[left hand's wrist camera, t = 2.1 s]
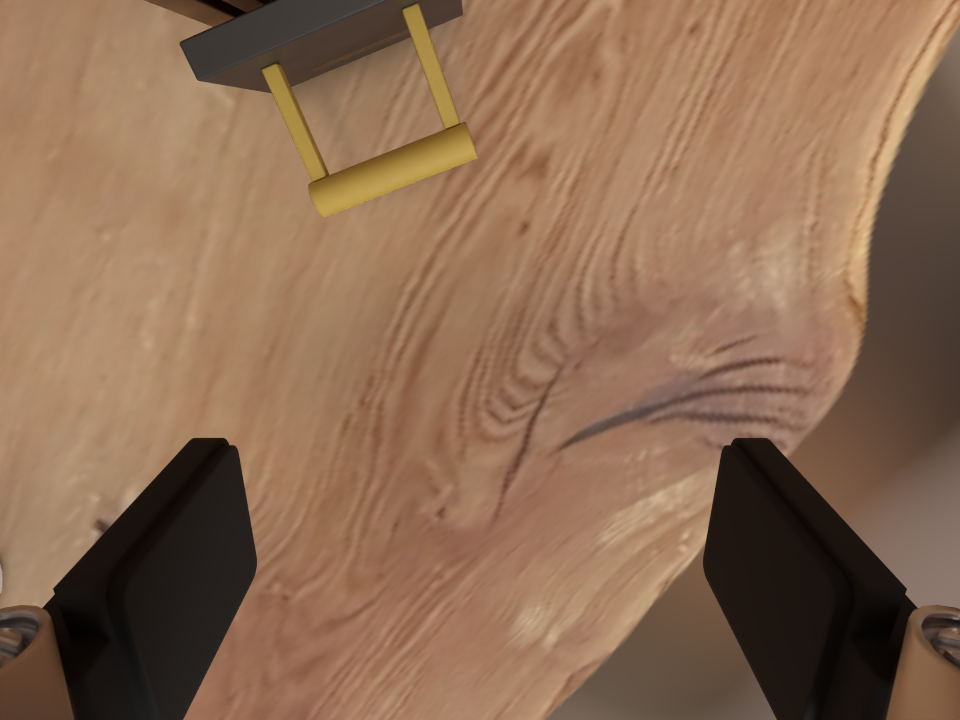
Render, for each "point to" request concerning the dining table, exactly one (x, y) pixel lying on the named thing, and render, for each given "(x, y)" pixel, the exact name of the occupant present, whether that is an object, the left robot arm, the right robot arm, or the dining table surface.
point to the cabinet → (202, 10)
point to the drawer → (323, 47)
